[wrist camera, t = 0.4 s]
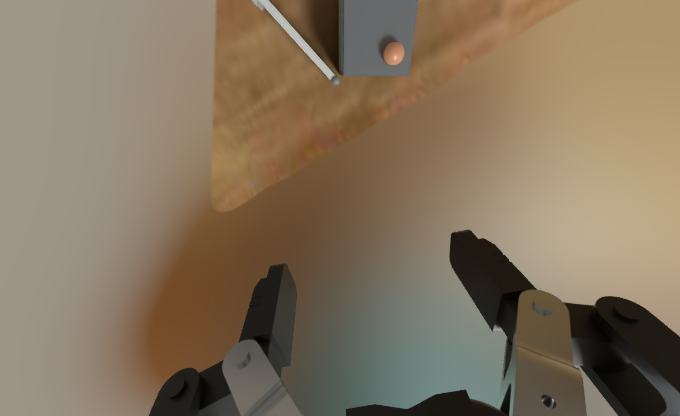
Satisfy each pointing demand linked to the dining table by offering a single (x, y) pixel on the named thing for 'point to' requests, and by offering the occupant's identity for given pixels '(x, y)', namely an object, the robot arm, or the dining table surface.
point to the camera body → (376, 37)
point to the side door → (297, 38)
